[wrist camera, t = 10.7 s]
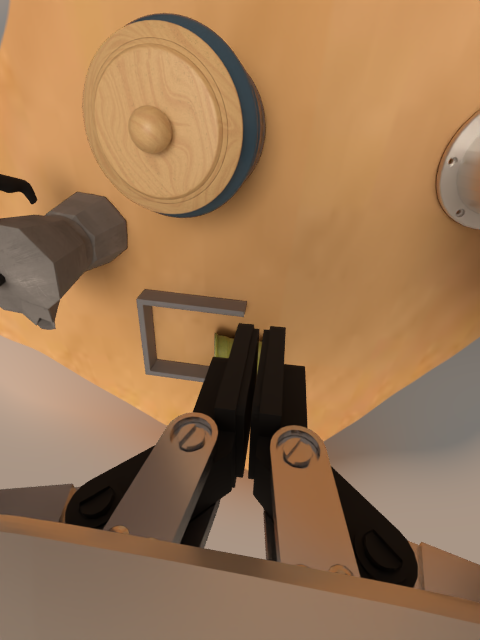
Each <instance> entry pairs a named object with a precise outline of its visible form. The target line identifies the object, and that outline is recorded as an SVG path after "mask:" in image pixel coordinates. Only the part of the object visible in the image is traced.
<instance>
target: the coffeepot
mask: <svg viewBox="0 0 480 640" xmlns="http://www.w3.org/2000/svg"><path fill="white" fill-rule="evenodd" d="M0 190H1V191H4V192H7V193H13V192H22V193H23V194H24V195H25V196H26V197H27V199H28V200H29V201H30V203H31V204H34V203H35V202H36V201H37V198H36V195H35V193H34V191H33V189H32V187H31V185H30V184H29V183H28V182H27V181H25V180H22V179H18V178H14V177H10V176H5V175H2V174H0ZM125 249H127V228H126V221H125V220H124V218H123V217H122V215H121V214H120V213H119V211H118V210H117V209H116V208H115V207H114V206H113V205H112V204H111V203H110V202H109V201H108V200H107V199H106V198H105V197H102V196H97V195H94V194H86V193H80V192H76V193H75V194H73V195H72V196H70V197H69V198H68V199H66V200H65V201H63V202H62V203H61V204H59V205H58V206H56V207H55V208H53V209H52V210H51V211H49V212H48V213H47V214H46V215H45V216H42V215H28V216H19V217H10V218H1V219H0V307H1V308H2V309H3V310H8V311H13V312H18V313H23V314H24V315H25V316H26V317H27V318H28V319H30V320H31V321H32V322H33V323H34V324H35V325H38V326H39V327H40V328H42V329H47V330H51V329H56V328H55V322H54V321H55V317H56V313H57V309H58V305H59V302H60V299H61V298H62V297H63V295H64V294H65V293H66V292H67V291H68V290H69V289H70V288H71V286H72V285H73V284H74V283H75V282H76V281H77V280H78V279H79V277H80V276H81V275H82V274H83V273H84V272H85V271H88V270H90V269H93V268H96V267H98V266H101V265H104V264H106V263H109V262H111V261H112V260H113V259H115V258H116V257H117V256H118V255H119V254H121V253H122V252H123V251H124V250H125Z"/></svg>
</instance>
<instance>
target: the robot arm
mask: <svg viewBox="0 0 480 640" xmlns="http://www.w3.org/2000/svg"><path fill="white" fill-rule="evenodd" d="M450 158H451V162H450V163H449V164H448V161H449V160H450ZM436 188H437V194H438V199H439V202H440V204H441V206H442V208H443V210H444V211H445V212H446V213H447V215H448V216H449V217H451V218H452V219H453V220H455V221H456V222H458V223H460V224H462V225H463V226H466V227H469V228H473V229H480V110H479V111H478V112H477V113H475V114H474V115H473V116H472V117H471V118H470V119H469V120H468V121H467V122H466V123H465V124H464V125H463V126H462V127H461V128H460V129H459V131H458V132H457V133H456V134H455V136H454V137H453V138H452V140H451V142H450V143H449V145H448V147H447V148H446V150H445V152H444V155H443V157H442V159H441V162H440V165H439V169H438V174H437V186H436ZM458 210H459V212H458V213H457V214H456V212H457V211H458ZM285 331H286V328H285V327H274V326H270V330H264V333H263V340H262V346H261V353H260V359H259V365H258V348H259V329H254V325H252V324H242V323H239V324H238V327H237V331H236V334H235V337H234V341H233V344H232V348H231V351H230V355H229V358H222V357H213V358H212V361H211V363H210V366H209V369H208V372H207V374H206V377H205V380H204V383H203V385H202V388H201V391H200V394H199V397H198V399H197V402H196V405H195V408H194V410H193V413H186V414H183V415H180V416H178V417H177V418H175V419H174V420H172V421H171V422H170V424H169V425H168V426H167V427H166V429H165V431H164V432H163V434H162V435H161V437H160V439H159V440H158V442H157V443H156V445H155V446H153V447H151V448H149V449H147V450H145V451H144V452H142V453H140V454H138V455H136V456H134V457H133V458H131V459H129V460H127V461H125V462H123V463H121V464H119V465H118V466H116V467H114V468H112V469H110V470H108V471H107V472H105V473H103V474H101V475H99V476H97V477H95V478H94V479H92V480H90V481H88V482H87V483H86V484H84V485H83V486H81V487H74V486H73V484H63V485H50V486H38V487H26V488H13V489H1V490H0V640H480V565H479V564H476V563H473V562H471V561H468V560H466V559H463V558H461V557H458V556H456V555H453V554H451V553H448V552H446V551H443V550H441V549H438V548H436V547H433V546H431V545H428V544H426V543H423V542H421V543H420V545H417V544H415V543H412V542H410V541H407V539H406V538H405V537H404V536H403V535H402V534H401V532H400V531H399V530H398V529H397V528H396V527H394V525H392V524H391V523H390V522H389V521H388V520H387V519H386V518H385V517H384V516H383V515H382V514H381V513H380V512H379V511H378V510H376V508H375V507H374V506H372V505H371V504H370V503H369V502H368V501H367V500H366V499H365V498H364V497H363V496H362V495H361V494H360V493H359V492H358V491H357V490H355V489H354V488H353V487H352V486H351V485H350V484H349V483H348V482H347V481H346V480H345V479H344V478H343V477H342V476H341V475H340V474H338V472H337V471H335V469H333V468H332V467H331V465H330V462H329V458H328V454H327V450H326V447H325V445H324V443H323V441H322V439H321V438H320V437H319V436H318V435H317V434H316V433H314V432H313V431H312V430H310V429H308V428H307V405H306V380H305V367H304V366H296V365H287V364H284V351H285ZM257 365H258V372H257ZM250 427H251V430H250ZM249 434H250V451H249V472H248V478H249V479H254V488H253V495H254V496H255V498H256V499H257V500H258V502H259V503H260V504H261V505H262V506H263V508H264V513H263V515H264V532H265V548H266V560H264V559H259V558H253V557H248V556H243V555H237V554H232V553H226V552H221V551H215V550H210V549H204V547H205V544H206V541H207V539H208V536H209V533H210V530H211V527H212V524H213V521H214V518H215V516H216V513H217V510H218V507H219V504H220V499H221V498H222V497H223V496H225V495H226V494H228V493H229V492H231V490H232V487H233V488H234V487H235V483H236V477H243V474H244V467H245V461H246V454H247V447H248V441H249Z"/></svg>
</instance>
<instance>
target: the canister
mask: <svg viewBox="0 0 480 640" xmlns="http://www.w3.org/2000/svg"><path fill="white" fill-rule="evenodd" d="M83 118H84V125H85V130H86V134H87V138H88V141H89V144H90V147H91V150H92V152H93V154H94V157H95V159H96V161H97V162H98V164H99V166H100V168H101V169H102V171H103V172H104V174H105V175H106V177H107V178H108V179H109V180H110V182H111V183H112V184H113V185H114V186H115V187H116V188H117V189H118V190H119V191H120V192H121V193H122V194H123V195H125V196H126V197H127V198H128V199H130V200H131V201H133V202H134V203H136V204H138V205H140V206H142V207H144V208H146V209H149V210H151V211H154V212H156V213H159V214H162V215H165V216H170V217H176V218H190V217H197V216H201V215H204V214H207V213H209V212H212V211H214V210H216V209H217V208H219V207H221V206H222V205H223V204H225V203H226V202H227V201H228V200H229V199H230V198H232V197H233V195H234V194H235V193H236V192H237V191H238V189H239V188H240V187H241V185H242V184H243V183H244V181H245V180H246V179H247V178H248V177H249V175H250V174H251V173H252V171H253V170H254V168H255V166H256V165H257V163H258V161H259V158H260V156H261V153H262V149H263V145H264V140H265V114H264V108H263V104H262V101H261V97H260V95H259V92H258V90H257V88H256V86H255V84H254V82H253V81H252V79H251V77H250V76H249V74H248V73H247V72H246V70H245V69H244V67H243V66H242V64H241V63H240V61H239V59H238V58H237V56H236V55H235V54H234V52H233V51H232V50H231V48H230V47H229V46H228V45H227V44H226V43H225V41H224V40H223V39H222V38H221V37H219V36H218V35H217V34H216V33H215V32H214V31H212V30H211V29H210V28H208V27H207V26H205V25H203V24H202V23H200V22H198V21H196V20H194V19H191V18H188V17H185V16H182V15H177V14H170V13H159V14H152V15H147V16H144V17H141V18H138V19H136V20H134V21H132V22H130V23H128V24H127V25H126V26H124V27H122V28H121V29H119V30H117V31H116V32H115V33H113V34H112V35H111V36H110V37H109V38H107V40H106V41H105V42H104V43H103V44H102V45H101V47H100V48H99V49H98V51H97V52H96V54H95V56H94V58H93V60H92V62H91V64H90V66H89V69H88V72H87V75H86V79H85V84H84V90H83Z"/></svg>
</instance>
